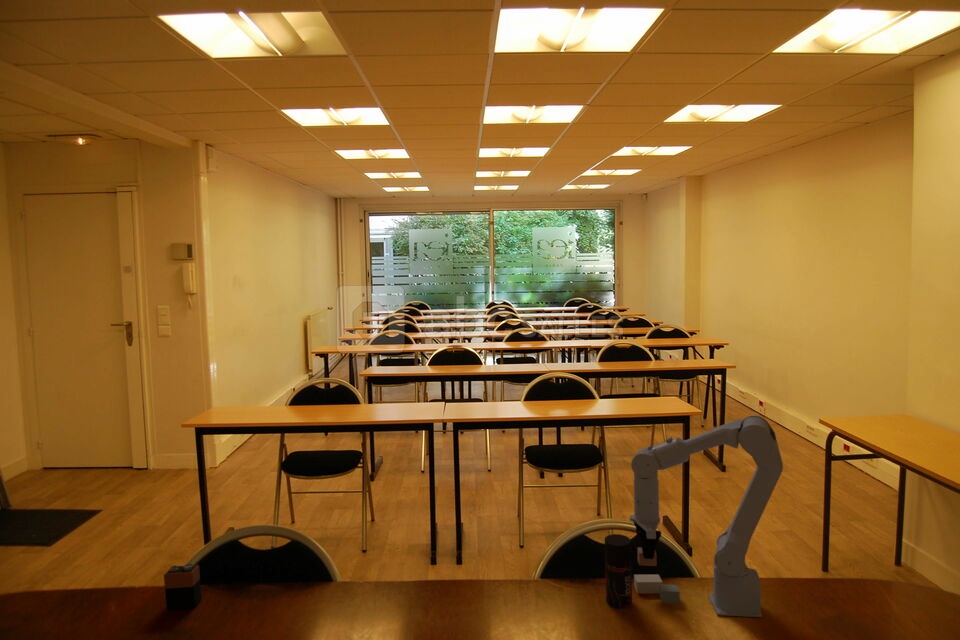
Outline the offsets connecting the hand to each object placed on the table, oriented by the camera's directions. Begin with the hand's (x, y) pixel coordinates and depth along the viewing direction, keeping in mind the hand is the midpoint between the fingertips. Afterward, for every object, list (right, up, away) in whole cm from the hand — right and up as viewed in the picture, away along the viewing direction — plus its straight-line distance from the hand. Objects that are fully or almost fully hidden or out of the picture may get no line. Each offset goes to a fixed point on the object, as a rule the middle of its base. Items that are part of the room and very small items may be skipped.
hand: (647, 554), depth 137 cm
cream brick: (0, -9, +1) cm, 9 cm away
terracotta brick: (0, -2, 0) cm, 2 cm away
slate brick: (+4, -9, -4) cm, 11 cm away
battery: (-113, -14, +2) cm, 114 cm away
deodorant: (-8, -10, -4) cm, 13 cm away
